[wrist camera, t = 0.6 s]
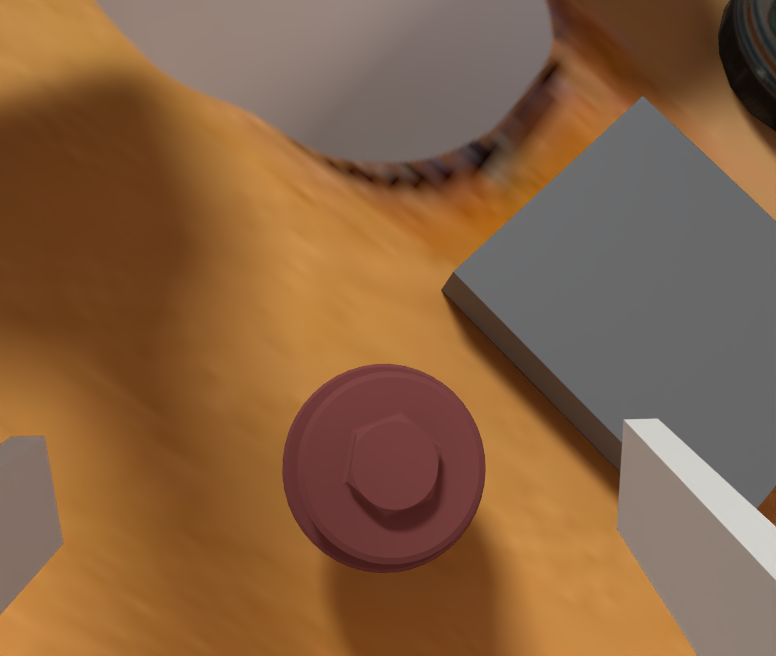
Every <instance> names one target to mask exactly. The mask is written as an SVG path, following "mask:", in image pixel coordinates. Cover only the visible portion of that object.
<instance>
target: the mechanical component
mask: <svg viewBox="0 0 776 656" xmlns="http://www.w3.org/2000/svg"><path fill="white" fill-rule="evenodd" d="M484 481H485V454H484V449H483V444H482V440H481V437H480V434H479V431H478V428H477V426H476V424H475V422H474V420H473V418H472V416H471V414H470V412H469V411H468V409H467V408H466V406H465V405H464V404H463V402H462V401H461V400H460V399H459V398H458V397H457V396H456V394H455V393H454V392H453V391H452V390H450V389H449V388H448V387H447V386H446V385H444V384H443V383H442V382H440V381H438V380H437V379H435V378H434V377H432V376H430V375H428V374H426V373H424V372H421V371H419V370H416V369H413V368H409V367H406V366H400V365H393V364H375V365H368V366H362V367H359V368H355V369H352V370H349V371H347V372H344V373H342V374H340V375H338V376H336V377H334V378H333V379H331V380H330V381H328V382H327V383H325V384H324V385H322V386H321V387H320V388H319V389H318V390H317V391H316V392H314V393H313V394H312V396H311V397H310V398H309V399H308V400H307V401H306V402H305V404H304V405H303V406H302V408H301V409H300V411H299V412H298V414H297V416H296V417H295V419H294V422H293V424H292V426H291V428H290V430H289V433H288V437H287V440H286V443H285V448H284V455H283V482H284V490H285V494H286V497H287V501H288V504H289V507H290V509H291V511H292V514H293V516H294V518H295V520H296V521H297V523H298V525H299V526H300V528H301V529H302V531H303V532H304V533H305V535H306V536H307V537H308V538H309V539H310V540H311V542H312V543H313V544H314V545H316V546H317V547H318V548H319V549H320V550H321V551H322V552H324V553H325V554H326V555H328V556H330V557H331V558H333V559H334V560H336V561H338V562H340V563H342V564H345V565H347V566H349V567H352V568H355V569H359V570H363V571H368V572H377V573H389V572H399V571H404V570H409V569H412V568H415V567H418V566H421V565H424V564H426V563H428V562H429V561H431V560H433V559H435V558H437V557H438V556H440V555H441V554H442V553H444V552H445V551H446V550H448V549H449V548H450V547H451V546H452V545H453V544H454V543H455V542H456V541H457V540H458V539H459V538H460V537H461V535H462V534H463V533H464V531H465V530H466V529H467V527H468V526H469V524H470V523H471V521H472V519H473V517H474V515H475V513H476V511H477V508H478V506H479V503H480V500H481V497H482V492H483V488H484Z"/></svg>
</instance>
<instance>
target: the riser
mask: <svg viewBox="0 0 776 656" xmlns="http://www.w3.org/2000/svg"><path fill="white" fill-rule="evenodd" d="M442 291H443V292H444V293H445V294H446V295H447V296H448V297H449V298H450V299H451V300H452V301H453V303H454V304H455V305H456V306H457V307H458V308H459V309H460V310H461V311H462V312H463V313H464V314H465V315H466V316H467V317H468V318H469V319H470V320H471V321H472V322H473V323H474V324H475V325H476V326H477V327H478V328H479V329H480V330H481V331H482V332H483V333H484V334H485V335H486V336H487V337H488V338H489V339H490V340H491V341H492V342H493V343H494V344H495V345H496V346H497V347H498V348H499V349H500V350H501V351H502V353H503V354H504V355H505V356H506V357H507V358H508V359H509V360H510V361H511V362H512V363H513V364H514V365H515V366H516V367H517V368H518V369H519V370H520V371H521V372H522V373H523V374H524V375H525V376H526V377H527V378H528V379H529V380H530V381H531V382H532V383H533V384H534V385H535V386H536V387H537V388H538V389H539V390H540V391H541V392H542V393H543V394H544V395H545V396H546V397H547V398H548V399H549V400H550V401H551V403H552V404H553V405H554V406H555V407H556V408H557V409H558V410H559V411H560V412H561V413H562V414H563V415H564V416H565V417H566V418H567V419H568V420H569V421H570V422H571V423H572V424H573V425H574V426H575V427H576V428H577V429H578V430H579V431H580V432H581V433H582V434H583V435H584V436H585V437H586V438H587V439H588V440H589V441H590V442H591V443H592V444H593V445H594V446H595V447H596V448H597V449H598V450H599V451H600V453H601V454H602V455H603V456H604V457H605V458H606V459H607V460H608V461H609V462H610V463H611V464H612V465H613V466H614V467H615V468H616V469H617V470H618V471H619V472H620V470H621V454H622V438H623V421H624V419H659V420H660V421H661V422H662V423H663V424H664V425H665V426H666V427H668V428H669V429H670V430H671V431H672V432H673V433H674V434H675V435H676V436H677V437H678V438H680V439H681V440H682V441H683V442H684V443H685V444H686V445H687V446H688V447H689V448H690V449H692V450H693V451H694V452H695V453H696V454H697V455H698V456H699V457H700V458H701V459H702V460H704V461H705V462H706V463H707V464H708V465H709V466H710V467H711V468H712V469H713V470H714V471H716V472H717V473H718V474H719V475H720V476H721V477H722V478H723V479H724V480H725V481H726V482H728V483H729V484H730V485H731V486H732V487H733V488H734V489H735V490H736V491H737V492H738V493H740V494H741V495H742V496H743V497H744V498H745V499H746V500H747V501H748V502H749V503H750V504H752V505H753V506H754V507H755V508H756V509H757V508H758V507H759V506H760V504H761V503H762V502H763V501H764V500H765V498H766V497H767V496H768V495H769V493H770V492H771V491H772V490H773V488H774V487H775V486H776V221H775V220H774V219H773V218H772V217H771V216H770V215H769V214H768V213H767V212H766V211H765V210H763V209H762V208H761V207H760V206H759V205H758V204H757V203H756V202H755V201H754V200H753V199H752V198H751V197H750V196H749V195H748V194H747V193H745V192H744V191H743V190H742V189H741V188H740V187H739V186H738V185H737V184H736V183H735V182H734V181H733V180H732V179H731V178H730V177H729V176H727V175H726V174H725V173H724V172H723V171H722V170H721V169H720V168H719V167H718V166H717V165H716V164H715V163H714V162H713V161H712V160H711V159H709V158H708V157H707V156H706V155H705V154H704V153H703V152H702V151H701V150H700V149H699V148H698V147H697V146H696V145H695V144H694V143H693V142H692V141H690V140H689V139H688V138H687V137H686V136H685V135H684V134H683V133H682V132H681V131H680V130H679V129H678V128H677V127H676V126H675V125H674V124H672V123H671V122H670V121H669V120H668V119H667V118H666V117H665V116H664V115H663V114H662V113H661V112H660V111H659V110H658V109H657V108H656V107H654V106H653V105H652V104H651V103H650V102H649V101H648V100H647V99H646V98H645V97H644V96H642V97H641V98H640V99H639V100H638V101H637V102H636V103H635V104H634V105H633V106H632V107H630V108H629V109H628V110H627V111H626V112H625V113H624V114H623V115H622V116H621V117H620V118H619V119H618V120H616V121H615V122H614V123H613V124H612V125H611V126H610V127H609V128H608V129H607V130H606V131H605V132H604V133H602V134H601V135H600V136H599V137H598V138H597V139H596V140H595V141H594V142H593V143H592V144H591V145H590V146H588V147H587V148H586V149H585V150H584V151H583V152H582V153H581V154H580V155H579V156H578V157H577V158H576V159H574V160H573V161H572V162H571V163H570V164H569V165H568V166H567V167H566V168H565V169H564V170H563V171H562V172H560V173H559V174H558V175H557V176H556V177H555V178H554V179H553V180H552V181H551V182H550V183H549V184H548V185H546V186H545V187H544V188H543V189H542V190H541V191H540V192H539V193H538V194H537V195H536V196H535V197H534V198H532V199H531V200H530V201H529V202H528V203H527V204H526V205H525V206H524V207H523V208H522V209H521V210H520V211H519V212H517V213H516V214H515V215H514V216H513V217H512V218H511V219H510V220H509V221H508V222H507V223H506V224H505V225H503V226H502V227H501V228H500V229H499V230H498V231H497V232H496V233H495V234H494V235H493V236H492V237H491V238H489V239H488V240H487V241H486V242H485V243H484V244H483V245H482V246H481V247H480V248H479V249H478V250H477V251H475V252H474V253H473V254H472V255H471V256H470V257H469V258H468V259H467V260H466V261H465V262H464V263H463V264H461V265H460V266H459V267H458V268H457V269H456V270H455V271H454V272H453V273H452V275H451V276H450V278H449V279H448V281H447V282H446V284H445V285H444V287H443V288H442Z"/></svg>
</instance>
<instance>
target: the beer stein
mask: <svg viewBox="0 0 776 656" xmlns="http://www.w3.org/2000/svg"><path fill="white" fill-rule="evenodd" d="M718 39H719V54H720V57H721V60H722V63H723V66H724V69H725V71H726V74H727V77H728V80H729V83H730V86H731V88H732V89H733V90H734V92H735V93H736V94H737V96H738V97H739V98H740V100H741V101H742V102H743V104H744V105H745V107H746V108H747V109H748V111H749V112H750V113H751V114H752V115H753V116H755V117H756V118H758V119H759V120H760V121H762V122H763V123H765V124H766V125H768V126H769V127H770V128H772V129H773V130H775V131H776V0H730V1H729V2H728V4H727V6H726V7H725V9H724V12H723V16H722V21H721V25H720V29H719V33H718Z"/></svg>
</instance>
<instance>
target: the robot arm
mask: <svg viewBox="0 0 776 656" xmlns="http://www.w3.org/2000/svg"><path fill="white" fill-rule="evenodd" d="M617 530H618V532H619V533H620V535H621V536H622V538H623V539H624V541H625V543H626V544H627V546H628V547H629V549H630V550H631V552H632V554H633V555H634V557H635V558H636V560H637V561H638V563H639V565H640V566H641V568H642V569H643V571H644V572H645V574H646V576H647V577H648V579H649V580H650V582H651V583H652V585H653V587H654V588H655V590H656V591H657V593H658V594H659V596H660V598H661V599H662V601H663V602H664V604H665V605H666V607H667V609H668V610H669V612H670V613H671V615H672V616H673V618H674V620H675V621H676V623H677V624H678V626H679V627H680V629H681V631H682V632H683V634H684V635H685V637H686V638H687V640H688V642H689V643H690V645H691V646H692V648H693V649H694V651H695V652H696V654H697V656H776V527H775V526H774V525H773V524H772V523H771V522H770V521H769V520H768V519H767V518H766V517H765V516H763V515H762V514H761V513H760V512H759V511H758V510H757V509H756V508H755V507H754V506H753V505H752V504H750V503H749V502H748V501H747V500H746V499H745V498H744V497H743V496H742V495H741V494H740V493H738V492H737V491H736V490H735V489H734V488H733V487H732V486H731V485H730V484H729V483H728V482H726V481H725V480H724V479H723V478H722V477H721V476H720V475H719V474H718V473H717V472H716V471H714V470H713V469H712V468H711V467H710V466H709V465H708V464H707V463H706V462H705V461H704V460H702V459H701V458H700V457H699V456H698V455H697V454H696V453H695V452H694V451H693V450H692V449H690V448H689V447H688V446H687V445H686V444H685V443H684V442H683V441H682V440H681V439H680V438H678V437H677V436H676V435H675V434H674V433H673V432H672V431H671V430H670V429H669V428H668V427H666V426H665V425H664V424H663V423H662V422H661V421H660V420H659V419H624V421H623V438H622V454H621V470H620V487H619V503H618V519H617ZM62 544H63V539H62V533H61V527H60V522H59V516H58V510H57V504H56V499H55V493H54V487H53V481H52V476H51V470H50V464H49V458H48V453H47V447H46V441H45V436H20V437H10V438H9V439H7V440H6V441H4V442H3V443H1V444H0V615H1V614H2V612H3V611H4V610H5V609H6V608H7V607H8V606H9V604H10V603H11V602H12V601H13V600H14V599H15V598H16V597H17V595H18V594H19V593H20V592H21V591H22V590H23V589H24V587H25V586H26V585H27V584H28V583H29V582H30V581H31V580H32V578H33V577H34V576H35V575H36V574H37V573H38V572H39V571H40V569H41V568H42V567H43V566H44V565H45V564H46V563H47V561H48V560H49V559H50V558H51V557H52V556H53V555H54V554H55V552H56V551H57V550H58V549H59V548H60V547H61V546H62Z"/></svg>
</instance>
